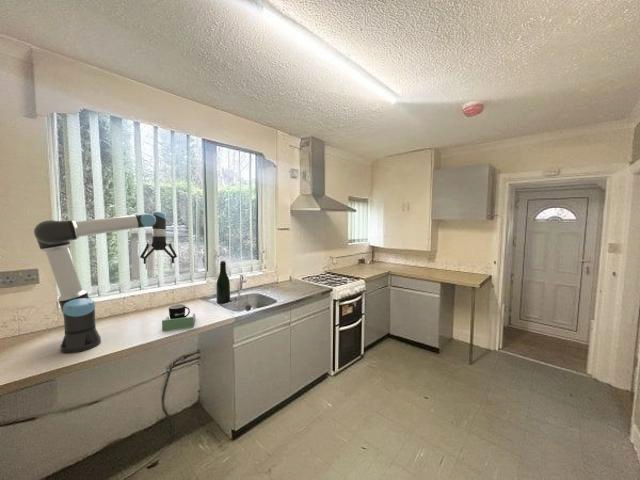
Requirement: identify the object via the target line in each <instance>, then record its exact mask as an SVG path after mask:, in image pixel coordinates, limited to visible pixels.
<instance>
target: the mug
mask: <svg viewBox="0 0 640 480" xmlns="http://www.w3.org/2000/svg"><path fill="white" fill-rule="evenodd" d="M186 309H187V310H188V311H187V314H186ZM190 313H191V310H190V308H189V307H187V306H186V305H185V304H183V303H180V304H179V303H178V304H173V305H170V306H169V307H168V316H169V319H176V318H185V317H189V315H190Z"/></svg>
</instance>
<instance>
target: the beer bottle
mask: <svg viewBox="0 0 640 480" xmlns="http://www.w3.org/2000/svg"><path fill="white" fill-rule="evenodd" d="M226 266H227V263H226V261H225V260H220V262H219V275H218V277H217V279H216V290H215V291H216V293H215V295H216V303H218V304H226V303H229V302H230V301H231V283H230V278H229V276H228V273H227V267H226Z"/></svg>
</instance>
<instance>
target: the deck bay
mask: <svg viewBox="0 0 640 480" xmlns="http://www.w3.org/2000/svg"><path fill="white" fill-rule="evenodd" d="M195 320H196V313H192V316H187V317H185V318H176V319H170V316H169V315H168V316H166V317H165V319H162V320H161V331H162V332H166V331H174V330H182V329H183V330H184V329H190V328H194V326H195Z"/></svg>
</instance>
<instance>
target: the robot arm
mask: <svg viewBox="0 0 640 480" xmlns="http://www.w3.org/2000/svg"><path fill="white" fill-rule="evenodd" d="M146 227H147V228H152V230H151V232H152V233H151V234H152V237H151V238H152V239H151V241H152V242H151V243H148V242H147V243H146V244H145V248H144V250H143V252H142V253H141V255H140V259H143V265H144V264H145V270H148V269H149V258H148V257H150V255H152V253H153V252H154V251H164V252H165V253H166V254H167V255H168V256H169V257H170V260H169V263H170V265H169V267H170V268H169V269H173V264H174V263H175V259H176V258H177V257H178V255H177V253H176V251H175V250H174V248H173V246H172V243H167V214H166V212H164V211H152V213H130V214H129V215H122V216H114V217H106V218H99V219H98V218H97V219H90V220H89V219H88V220H82V221H81V220H80V221H75V220H52V219H51V220H43V221H41V222H39V223H38V224H36V226H35V227H34V229H33V233H34V237H35V238H36V242H37V244H38V248H39V250H40V251H43V252H45V253H46V256H47V260H48V262H49V266H50V268H51V271H52V274H53V276H54V279H55V283H56V285H57V288H58V290H59V294H60V296H59V297H58V299H57V301H58V303H59V306H60V310H61V312H62V317H63V326H64V327H63V329H64V336H63V337H62V338H63V339H62V342H61V344H60V352H61V353H63V354H73V353H74V354H75V353H80V352H85V351H87V350H91V349H93V348H95V347H97V346H99V345H100V344H101V342H102V341H101V340H102V339H101V336H100V333H99V332H98V330H97V327H96V325H97V324H96V304H95V300H94V299H92V298H90V297H89V294H88V291H87V290H84V289H83V287H82V284H81V281H80V278H79V275H78V272H77V269H76V266H75V262H74V260H73V257H72V254H71V250H70V246H71V245H72V242H71V241H75V240H78V239H79V238H80V237H87V236H92V235H95V236H96V235H100V234H106V233H113V232H121V231H127V230H134V229H141V228H146ZM150 247H151V250H150V251H148V250H149V248H150ZM166 247H168V248H169V249H170V251H171V252H170V251H169V250H168V249H167V248H166ZM147 252H148V253H147Z"/></svg>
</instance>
